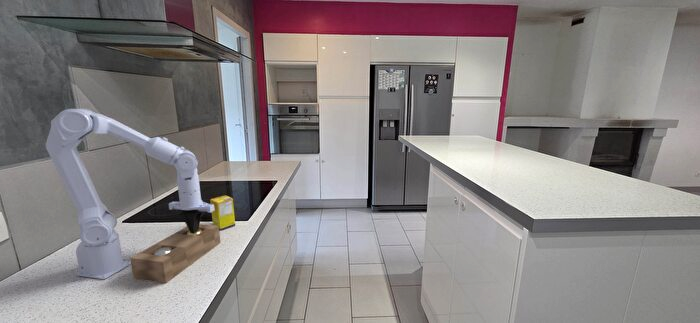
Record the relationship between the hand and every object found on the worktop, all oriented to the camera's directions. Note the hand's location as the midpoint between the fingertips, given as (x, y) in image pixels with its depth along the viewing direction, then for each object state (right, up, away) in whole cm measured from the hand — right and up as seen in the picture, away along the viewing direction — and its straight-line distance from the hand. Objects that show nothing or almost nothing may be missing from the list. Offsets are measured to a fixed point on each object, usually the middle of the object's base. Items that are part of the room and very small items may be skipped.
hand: (194, 231), depth 89 cm
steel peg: (-2, -8, -10) cm, 13 cm away
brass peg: (0, -5, +1) cm, 5 cm away
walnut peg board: (-1, -7, -5) cm, 8 cm away
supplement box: (+1, -2, +18) cm, 18 cm away
